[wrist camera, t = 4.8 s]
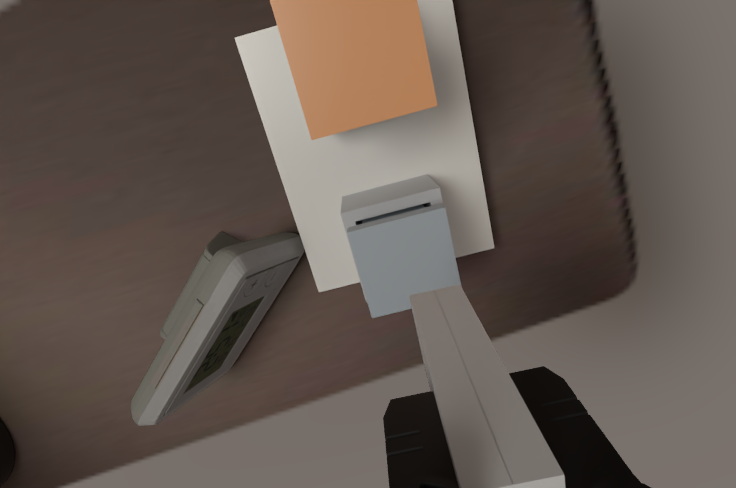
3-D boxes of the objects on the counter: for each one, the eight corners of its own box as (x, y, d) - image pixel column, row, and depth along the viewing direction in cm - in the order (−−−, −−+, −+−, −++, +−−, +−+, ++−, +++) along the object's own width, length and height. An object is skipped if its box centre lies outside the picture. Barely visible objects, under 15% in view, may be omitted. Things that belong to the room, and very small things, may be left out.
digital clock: (221, 372, 42) (180, 460, 32) (143, 316, 40) (72, 392, 30) (334, 260, 38) (328, 319, 28) (255, 192, 36) (218, 230, 26)
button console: (321, 277, 39) (313, 322, 31) (244, 42, 32) (212, 27, 25) (483, 236, 38) (516, 271, 31) (439, -14, 31) (466, -47, 24)
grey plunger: (367, 270, 35) (372, 318, 28) (348, 200, 33) (347, 232, 26) (439, 251, 35) (463, 295, 27) (423, 181, 33) (445, 207, 25)
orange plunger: (322, 127, 27) (311, 140, 20) (293, 26, 25) (269, -2, 18) (414, 102, 27) (437, 105, 20) (391, -2, 25) (408, -43, 18)
